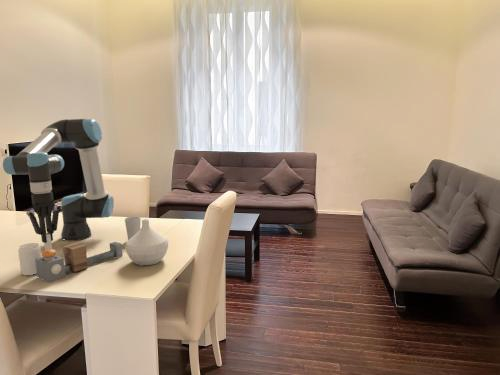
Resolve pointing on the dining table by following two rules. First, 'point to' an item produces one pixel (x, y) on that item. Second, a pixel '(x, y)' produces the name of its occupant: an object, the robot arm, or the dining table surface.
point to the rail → (101, 256)
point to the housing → (50, 268)
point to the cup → (132, 226)
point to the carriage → (76, 256)
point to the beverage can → (29, 258)
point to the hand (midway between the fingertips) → (48, 249)
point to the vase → (146, 246)
